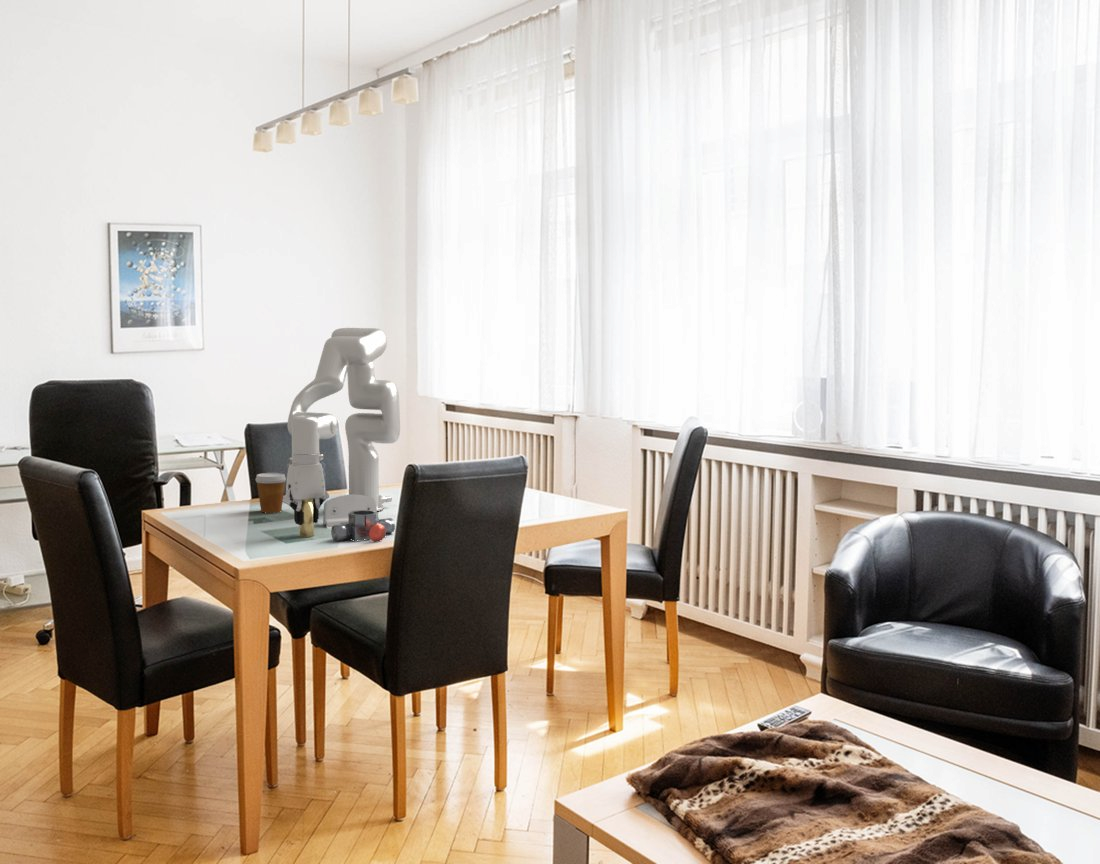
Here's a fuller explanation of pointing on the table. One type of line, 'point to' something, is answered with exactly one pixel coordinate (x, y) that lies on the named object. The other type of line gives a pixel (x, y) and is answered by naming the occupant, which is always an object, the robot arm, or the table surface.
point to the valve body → (363, 527)
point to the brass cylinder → (307, 518)
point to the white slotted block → (345, 508)
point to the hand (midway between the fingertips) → (306, 522)
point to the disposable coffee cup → (270, 491)
